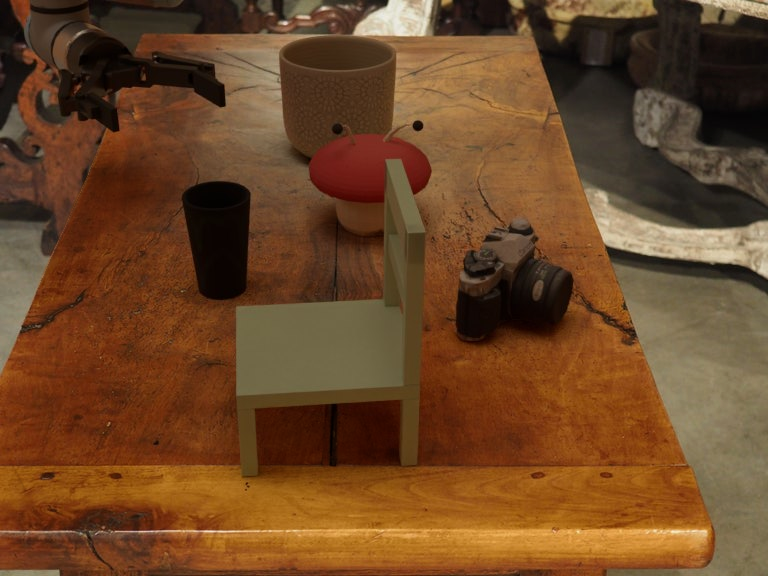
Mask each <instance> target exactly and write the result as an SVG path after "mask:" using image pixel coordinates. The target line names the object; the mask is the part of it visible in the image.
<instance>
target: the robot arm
mask: <svg viewBox="0 0 768 576" xmlns="http://www.w3.org/2000/svg"><path fill="white" fill-rule="evenodd" d="M28 1H29V12H30V13H29V14H28V15H27V18H26V20H25V23H24V27H23V35H24V39H25V43H26V44H27V46H28V47H29V49H30V50H31V51H32V52H33V53H34V55H36V56H37V58H38V59H40V61H42V62H43V63H45V64H46V65H49V66H51V67H53V68H55V69H56V70H57V74H58V81H59V86H58V91H57V102H58V109H59V116H60V117H62V118H65V117H66V118H67V117H70V116H72V113H73V112H75V113H76V114H77V121H79V122H87V121H89V120H92V121H93V120H96V121H97V122H98V123H100V124H101V125H102V126H104V128H106V129H108V130H109V131H111V132H112V133H118V132H121V129H120V122H119V113H118V108H117V107H116V106H114V105H113V104H112V103H110V102H108V101H107V100H105V98H106V96H109V95H114V94H115V93H117V92H119V91H121V90H122V89H123V88H124V89H133V88H143V89H151V88H152V87H154V86H162V87H174V88H183V89H184V88H185V89H193V92H194V93H195V94H196V95H198V96H200V97H201V98H203V99H205V100H207V101H209V102H210V103H212V104H213V105H215V106H217V107H219V108H220V109H221V108H225V107H227V101H226V85H225V84H224V83H223V82H221V81H219V80H218V78H216V64H215V63H213V62H208V61H203V60H198V59H197V60H196V59H192V58H186V57H181V56H176V55H170V54H167V53H164V52H161V51H159V50H154V51H152V52H151V58H148V57H147V58H146V57H139V56H135V55H133V54H132V52H131V51H130V49H129V48H128V47H127V46H126V44H125V43H123V42H122V41H121V40H119V39H118V38H116V37H114V36H112V35H111V34H109V33H108V32H106V31H105V30H102V29H101V28H99V27H97V26H95V25H94V24H93V23H92V22H91V16H90V8H89V5H90V3H89V2H90V1H89V0H28ZM102 1H104V2H116V3H123V4H130V5H131V4H132V5H139V6H146V7H153V8H156V9H158V8H176V7H178V6H179V5H181V4H182V2H184V0H102ZM144 76H145V80H144V79H143V78H144ZM78 86H80V87H79V88H78V89H77V87H78Z"/></svg>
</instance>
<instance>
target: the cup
mask: <svg viewBox="0 0 768 576" xmlns="http://www.w3.org/2000/svg"><path fill="white" fill-rule="evenodd" d="M251 194H252V193H251V191H250V189H249V188H247V187H246V186H245V185H242V184H240V183H239V182H233V181H228V180H227V181H226V180H213V181H212V180H211V181H205V182H201V183H197V184H194V185H192V186H189V188H187V189H185V190H184V192H183V193H182V194H181V203H182V207H183V215H184V218H185V219H184V220H185V224H186V231H187V234H188V239H189V245H190V251H191V254H192V261H193V267H194V271H195V276H196V283H197V288H198V292H199V293H200V294H201V295H202V297H205V298H207V299H210V300H217V301H218V300H220V301H223V300H230V299H234V298H237V297H239V296H242V294H243V293H245V292H246V289H247V284H248V283H247V282H248V281H247V280H248V261H249V241H250V222H251V221H250V219H251V218H250V217H251V199H252V198H251V197H252V195H251Z"/></svg>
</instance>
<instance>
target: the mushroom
mask: <svg viewBox="0 0 768 576" xmlns="http://www.w3.org/2000/svg"><path fill="white" fill-rule="evenodd" d="M408 126H409V127H410V126H411V127H412V129H413V130H414V131H415V132H421V131H423V129H424V122H423V121H421V120H419V119H418V120H417V119H416V120H414V121H413V123H412V124H411V123H403V124H401V125H397V126H395V127H394V128H392V129H391V131H390V132H389V133H388V134H387V135H378V134H359V135H353V134H352V132H351V130H350V128H349V127H348V126H346V125H343V126H342V125H341V124H339V123H336V124H334V125H333V127H332V131H333V133H334V134H337V135H339V134H341V133H342V131H343V127H345V128H346V129H347V131H348V134H349V136H346V137H343V138H340V139H337V140H334V141H332V142H330V143H329V144H327V145H325V146H324V147H322V148H321V149H319V150H318V151H317V152H316V153H315V155H314V156H313V158H310V159H311V160H310V161H309V163H308V174H309V179H310V181H311V184H312V185H313V186H314V187H315V188H316V189H317V190H318V191H319V192H320V193H322V194H324V195H327V196H329V197H330V198H334V199H335V211H336V217H337V221H338V223H339V224H340V225H341V226H342V227H343V228H344V229H345V230H346V231H347V232H349V233H351V234H353V235H357V236H362V237H380V236H384V205H385V159H401V160H402V163H403V166H404V169H405V172H406V175H407V178H408V181H409V184H410V187H411V190H412V193H413V196H415V195H418V194H419V193H420V192H422V191H423V190H424V189H425V188H426V187H427V186H428V184H429V181H430V180H431V176H432V172H433V171H432V166H431V163H430V160H429V158H428V156H427V155H426V154H425V153H424V152H423V151H422V150H421V149H419V147H417V146H416V145H414V144H413V143H411V142H408V141H406V140H404V139H401V138H399V137H395V136H394V135H395V134H396V133H398V132H399V131H401V129H403V128H405V127H408Z"/></svg>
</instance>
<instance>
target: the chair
mask: <svg viewBox="0 0 768 576" xmlns="http://www.w3.org/2000/svg"><path fill="white" fill-rule="evenodd" d="M426 242H427V230H426V228H425V226H424V222H423V219H422V215H421V213H420V211H419V207H418V205H417V202H416V199H415V195H413V193H412V190H411V187H410V184H409V181H408V178H407V175H406V172H405V169H404V166H403V163H402V160H401V159H385V205H384V235H383V272H382V275H383V276H382V277H383V278H382V279H383V280H382V282H383V283H382V298H378V299H358V300H338V301H320V302H319V301H316V302H299V303H297V302H296V303H279V304H278V303H277V304H258V305H256V304H255V305H238V306H237V305H236V306H235V394H236V395H235V397H236V398H235V399H236V412H237V413H236V414H237V427H238V428H237V429H238V444H239V457H240V458H239V459H240V470H241V471H240V472H241V473H240V475H241V477H242V478H243V477H244V478H245V477H258V476H259V460H258V459H259V458H258V441H257V440H258V439H257V421H256V409H267V408H282V407H299V406H315V405H316V406H317V405H331V404H332V405H333V404H334V405H335V404H350V403H365V402H366V403H367V402H368V403H369V402H384V401H397V400H398V401H400V405H399V406H400V409H399V410H400V412H399V442H398V443H399V445H398V447H399V449H398V454H399V455H398V457H399V462H400V466H401V467H407V466H409V467H410V466H417V465H418V457H419V430H420V429H419V428H420V403H421V401H420V399H421V378H422V377H421V376H422V375H421V374H422V350H423V349H422V348H423V347H422V346H423V345H422V344H423V324H424V323H423V321H424V299H425V298H424V296H425V295H424V293H425V269H426V266H425V265H426V244H427V243H426ZM401 305H402V310H401Z"/></svg>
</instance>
